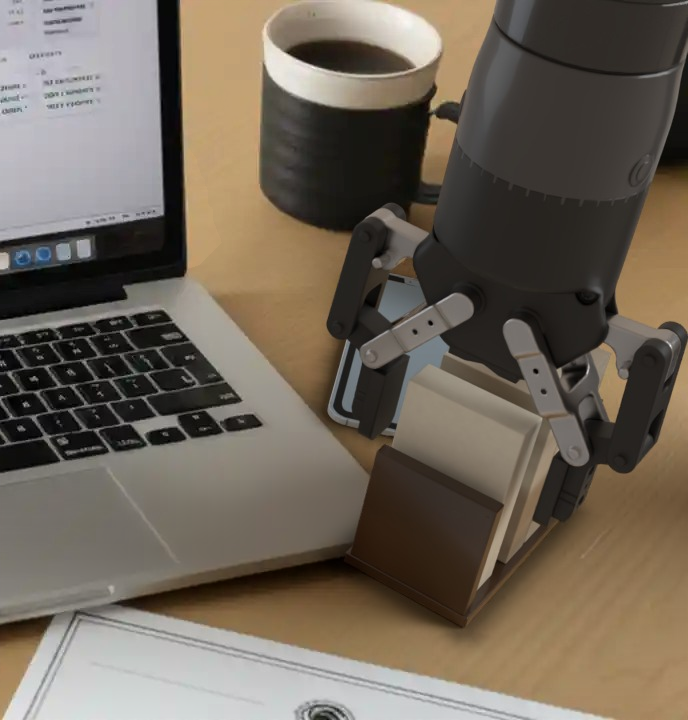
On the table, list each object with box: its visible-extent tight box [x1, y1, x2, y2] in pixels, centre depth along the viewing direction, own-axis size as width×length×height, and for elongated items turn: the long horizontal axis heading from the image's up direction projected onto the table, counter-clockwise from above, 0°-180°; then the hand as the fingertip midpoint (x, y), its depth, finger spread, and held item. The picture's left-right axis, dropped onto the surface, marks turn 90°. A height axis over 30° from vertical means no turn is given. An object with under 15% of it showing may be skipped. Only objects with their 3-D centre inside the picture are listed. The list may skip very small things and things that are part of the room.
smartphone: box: [327, 272, 449, 437], centre depth 90 cm, size 7×1×15 cm
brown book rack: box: [343, 346, 612, 629], centre depth 75 cm, size 6×11×10 cm, turn 141°
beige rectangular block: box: [391, 364, 542, 590], centre depth 73 cm, size 6×2×9 cm, turn 51°
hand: (458, 471), depth 73 cm, fingers open, 8 cm apart
